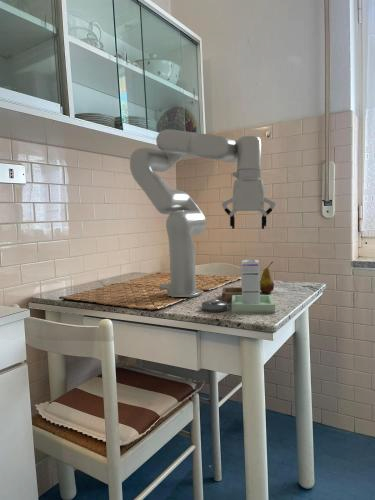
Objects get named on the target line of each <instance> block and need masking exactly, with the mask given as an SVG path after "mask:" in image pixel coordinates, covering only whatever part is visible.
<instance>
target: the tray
mask: <svg viewBox="0 0 375 500" xmlns="http://www.w3.org/2000/svg"><path fill="white" fill-rule="evenodd" d="M231 313H243V314H244V313H251V314H255V313H256V314H257V313H258V314H259V313H260V314H261V313H263V314H275V313H276V304H275V301H274V298H273V296H272V295H271V294H267V295H266V294H260V304H242V295H232V302H231Z"/></svg>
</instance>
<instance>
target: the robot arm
mask: <svg viewBox="0 0 375 500" xmlns="http://www.w3.org/2000/svg"><path fill="white" fill-rule="evenodd" d="M155 139H156V140H155V142H156V146H157V147H158V149H156V148H150V147H139V148H136V149H134V150H133V152H132V153H131V155H130V159H129V167H130V168H129V169H130V173H131V175H132V178H133V179H134V180H135V182H136V183H137V185H138V186H139V187H140V188H141V189H142V191H143V192H144V194H145V195H146V196H147V197H148V199H149V201H150V202H151V203H152V205H153V206H154V207H155V209H156V210H157V212H158V213H160V214H162V215H168V216H167V218H166V221H165V222H166V223H165V227H166V233H167V239H168V245H169V247H168V249H169V250H168V251H169V273H170V274H169V275H170V280H169V281H170V282H168V283H160V284H159V290H167V291H166V296H168V297H169V296H171V297H170V298H174V297H189V298H195V297H198V296H200V295H201V290H199V289H197V287H196V286H197V283H196V282H197V280H196V279H197V278H196V277H197V276H196V275H197V274H196V247H195V242H194V239H193V236H195V235H199V234H201V233H203V232H204V231H205V230H206V227H207V220H206V217H205V214H204V212H203V211H202V209H200V208H199V206H198V205H197V203H195V201H194V199H192V197H191V196H190V195H189V194H188V193H187V192H185V191H184V190H180V189H172V188H170V187H169V185H167V183H166V182H165V181H164V179H163V178H162V177H161V176H160V175H158V174H157V173H156V172H160V173H163V172H166V171H168V170H169V169H171V168H172V167H173V166H174V165H175V164H176V163H178V162H179V161H180V160H181V159H183V158H184V157H188V158H195V157H196V158H197V157H199V158H204V159H209V160H214V161H215V160H216V161H222V162H224V163H225V162H227V163H236V171H235V172H232V177H233V178H236V179H235V180H234V182H233V189H232V197H231V198H229V199H228V200H225V201H224V202H222V203H221V206H222V208H223V211H224V212H225V213H226V214H227V215H228V216H229V226H230V227H231V229H232V230H233V229H235V228H236V227H235V226H236V223H235V222H236V221H235V214H236V213H237V212H240V211H242V212H258V211H259V212H260V213H261V214H262V216H261V229H262V230H264V229H265V227H267V216H268V215H269V214H270V213H271V212H272V211H273V209H274V208H275V206H276V203H275V201H273V200H271V199H269V198H266V197H265V185H264V180H263V179H261V165H262V162H261V160H262V159H261V158H262V139H261V138H260V137H259V136H256V135H244V136H240V137H239V138H238V139H233V138H229V137H226V136H222V135H218V134H210V133H209V134H208V133H201V132H200V133H198V132H194V131H193V132H192V131H184V130H177V129H169V128H168V129H167V128H166V129H163V130H161V131H160V132H159V133H158V134H157V136H156V138H155ZM231 203H232V204H231ZM265 203H266V204H268V205H269V207H268V208H267V210H266V211H265V209H264V208H265ZM229 204H231V205H232V210H230V209H229V208H228V205H229Z"/></svg>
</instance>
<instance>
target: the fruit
mask: <svg viewBox="0 0 375 500" xmlns="http://www.w3.org/2000/svg"><path fill="white" fill-rule="evenodd" d="M273 263H274V261H271V262H270V264H269V265H268V266H266V267H265V268H264V269H263V271H262V275H261V277H260V292H262V293H264V294H270V293H272V292H273V290H274V288H275V284H274V283H275V282H274V280H273V278H272V277H271V272H270V269H269V268H270V266H271V265H272V264H273Z"/></svg>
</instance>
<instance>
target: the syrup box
mask: <svg viewBox="0 0 375 500" xmlns="http://www.w3.org/2000/svg"><path fill="white" fill-rule="evenodd" d="M240 266H241V267H240V268H241V269H240V270H241V271H240V274H241V287H242V304H260V295H261V290H260V280H261V277H260V261H259V259H244V260H241V264H240Z"/></svg>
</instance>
